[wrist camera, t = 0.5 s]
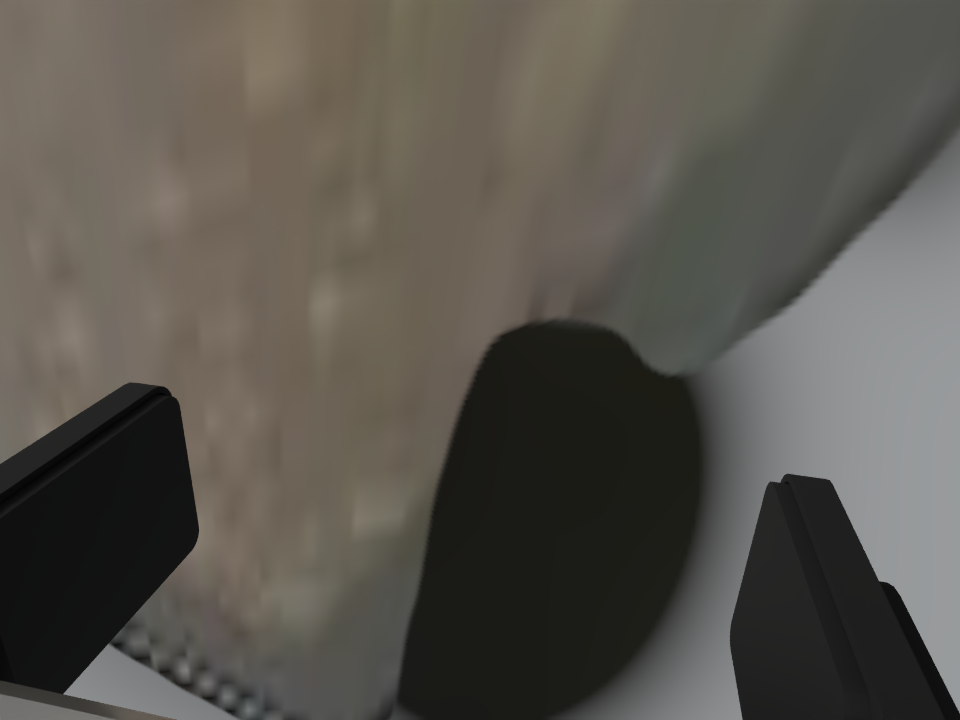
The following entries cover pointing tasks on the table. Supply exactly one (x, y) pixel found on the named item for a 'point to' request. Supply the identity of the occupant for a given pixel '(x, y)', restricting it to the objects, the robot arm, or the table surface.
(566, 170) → the table surface
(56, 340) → the table surface
